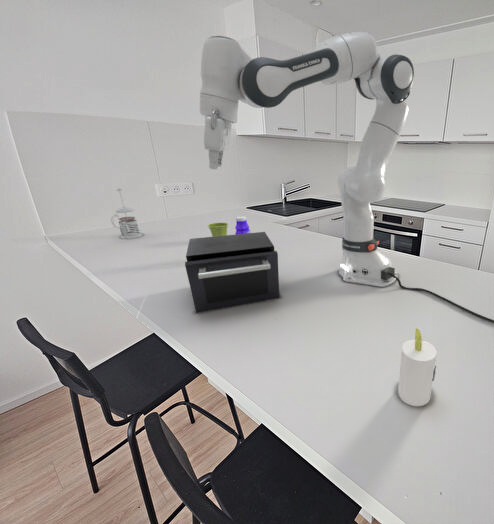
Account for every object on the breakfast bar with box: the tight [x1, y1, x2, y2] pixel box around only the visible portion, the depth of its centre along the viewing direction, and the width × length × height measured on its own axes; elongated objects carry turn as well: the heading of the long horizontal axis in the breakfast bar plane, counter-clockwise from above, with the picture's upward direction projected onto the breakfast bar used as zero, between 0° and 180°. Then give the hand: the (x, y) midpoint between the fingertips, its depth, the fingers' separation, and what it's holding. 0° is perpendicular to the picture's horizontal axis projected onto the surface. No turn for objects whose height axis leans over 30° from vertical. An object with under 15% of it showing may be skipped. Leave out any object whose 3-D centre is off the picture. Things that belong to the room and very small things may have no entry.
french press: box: [110, 187, 143, 240], centre depth 153 cm, size 10×12×25 cm
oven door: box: [184, 250, 280, 314], centre depth 85 cm, size 5×24×17 cm, turn 114°
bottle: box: [234, 215, 252, 235], centre depth 129 cm, size 7×6×17 cm
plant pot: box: [207, 222, 229, 237], centre depth 150 cm, size 9×9×9 cm
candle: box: [397, 327, 438, 407], centre depth 56 cm, size 6×6×15 cm
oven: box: [185, 231, 275, 262], centre depth 97 cm, size 18×24×17 cm
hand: (215, 167), depth 80 cm, fingers open, 8 cm apart
